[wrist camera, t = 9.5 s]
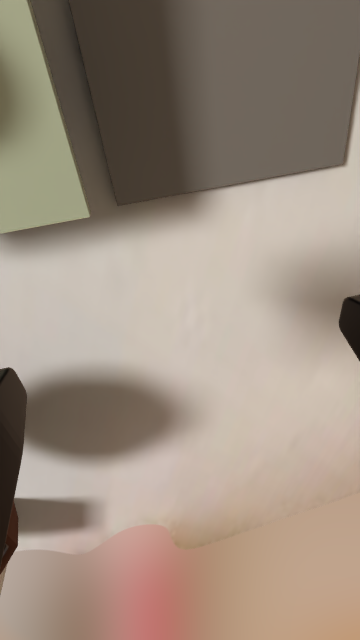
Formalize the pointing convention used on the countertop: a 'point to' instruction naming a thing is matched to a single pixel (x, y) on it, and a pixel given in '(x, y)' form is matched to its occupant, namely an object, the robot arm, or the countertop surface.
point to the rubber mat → (217, 89)
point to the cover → (33, 132)
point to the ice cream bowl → (10, 538)
